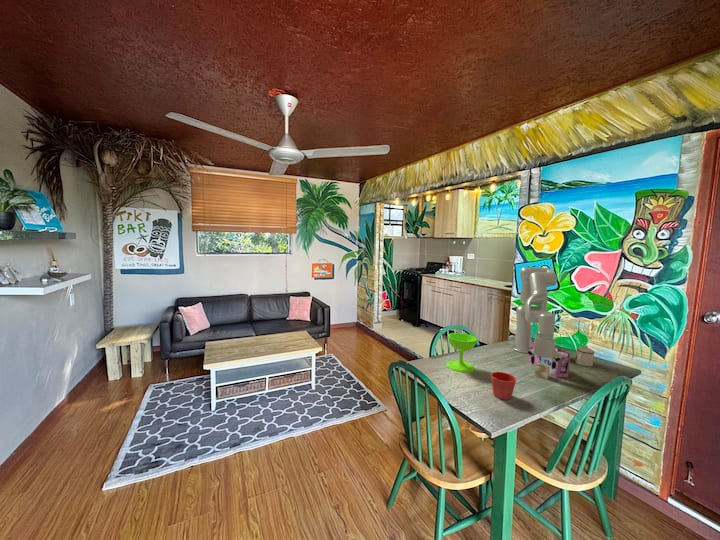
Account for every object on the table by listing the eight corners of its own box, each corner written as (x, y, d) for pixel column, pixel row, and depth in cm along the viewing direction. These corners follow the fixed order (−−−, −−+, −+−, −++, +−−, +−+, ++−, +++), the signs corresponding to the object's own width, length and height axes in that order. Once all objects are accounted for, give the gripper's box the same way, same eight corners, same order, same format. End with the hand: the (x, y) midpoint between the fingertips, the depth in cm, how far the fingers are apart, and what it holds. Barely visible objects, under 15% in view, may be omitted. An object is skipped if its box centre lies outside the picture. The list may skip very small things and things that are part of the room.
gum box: (571, 378, 164) (573, 354, 162) (558, 378, 162) (560, 354, 161) (538, 361, 187) (540, 340, 186) (527, 361, 186) (529, 340, 185)
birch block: (534, 376, 165) (535, 365, 164) (536, 372, 169) (537, 362, 169) (546, 379, 161) (547, 369, 160) (548, 376, 166) (549, 365, 165)
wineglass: (473, 363, 180) (475, 334, 178) (476, 374, 164) (478, 343, 163) (446, 360, 184) (447, 331, 182) (446, 370, 168) (448, 339, 167)
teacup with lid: (579, 359, 191) (580, 342, 190) (595, 365, 184) (597, 346, 182) (569, 363, 185) (571, 345, 184) (586, 368, 177) (588, 349, 176)
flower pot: (485, 390, 146) (486, 371, 145) (506, 390, 147) (507, 371, 146) (496, 401, 136) (498, 381, 135) (519, 401, 137) (521, 381, 136)
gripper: (526, 333, 166) (523, 363, 167) (563, 340, 155) (560, 372, 156) (529, 331, 171) (526, 360, 173) (565, 338, 160) (562, 368, 161)
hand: (542, 366), depth 164 cm, fingers open, 9 cm apart
